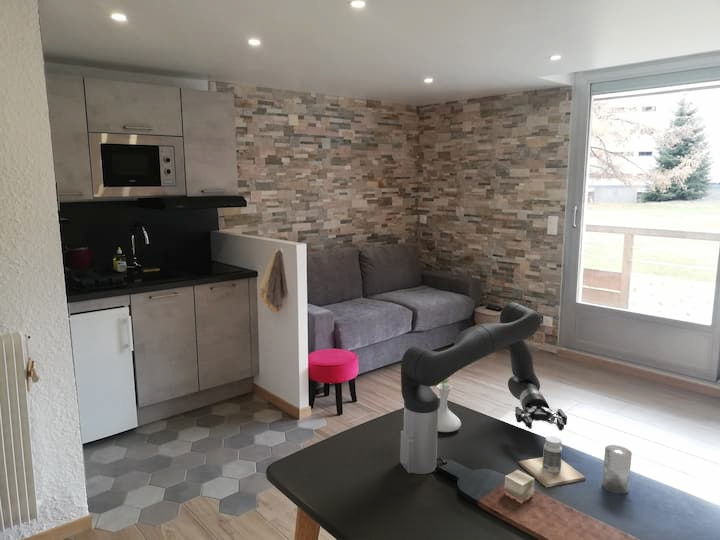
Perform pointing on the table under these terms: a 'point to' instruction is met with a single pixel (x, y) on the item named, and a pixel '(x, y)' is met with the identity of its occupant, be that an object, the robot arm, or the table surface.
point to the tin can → (616, 469)
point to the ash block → (519, 484)
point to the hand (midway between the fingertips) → (545, 426)
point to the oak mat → (549, 478)
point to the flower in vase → (446, 410)
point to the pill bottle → (552, 454)
